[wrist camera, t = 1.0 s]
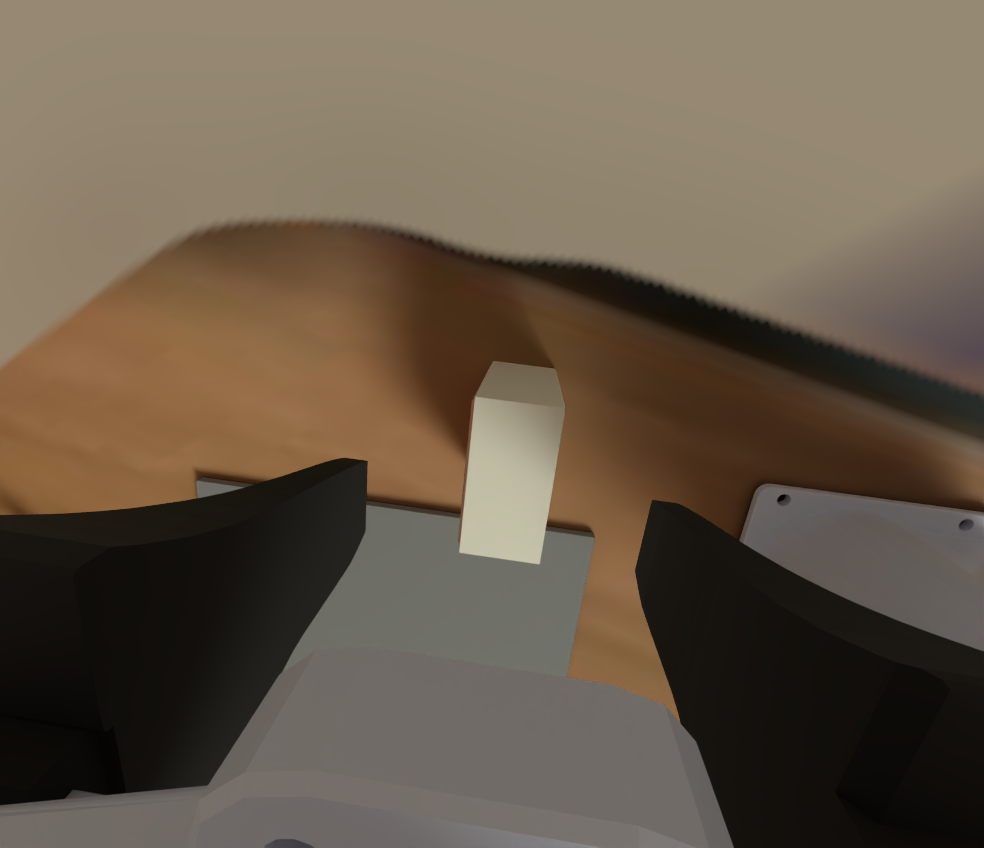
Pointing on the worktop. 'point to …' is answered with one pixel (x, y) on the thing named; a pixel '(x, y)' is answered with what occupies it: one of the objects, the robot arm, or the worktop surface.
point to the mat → (448, 593)
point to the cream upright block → (511, 462)
